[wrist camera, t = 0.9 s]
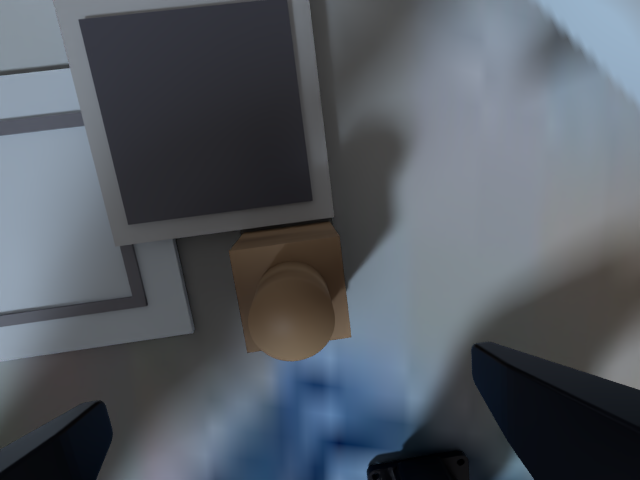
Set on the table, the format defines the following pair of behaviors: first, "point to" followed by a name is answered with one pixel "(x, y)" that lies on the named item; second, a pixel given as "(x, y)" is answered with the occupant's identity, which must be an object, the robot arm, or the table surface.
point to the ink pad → (199, 113)
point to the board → (70, 237)
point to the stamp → (290, 288)
